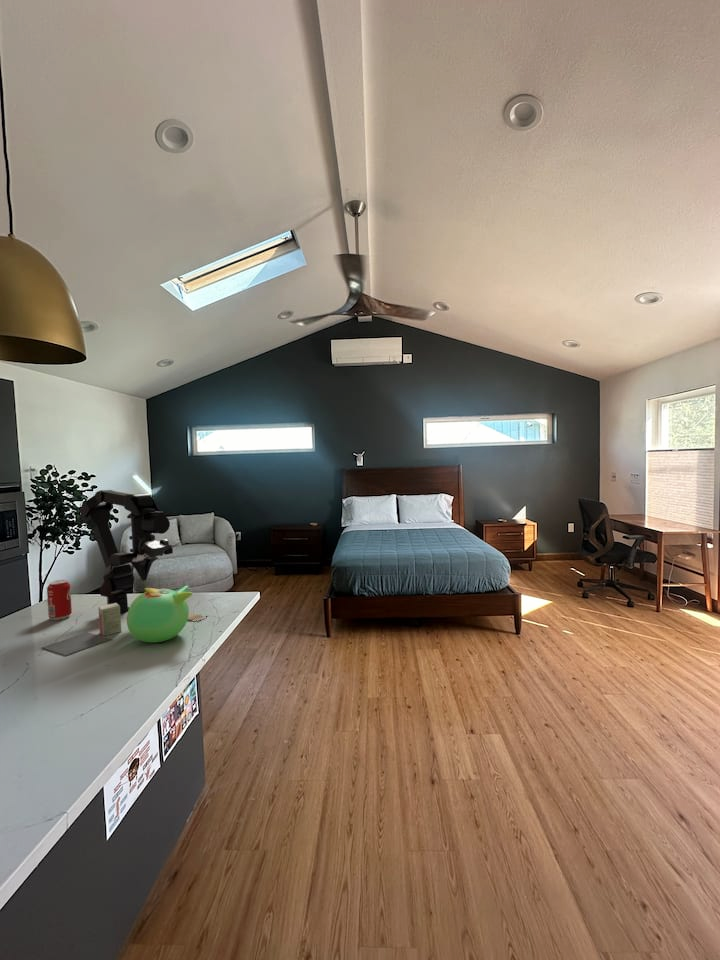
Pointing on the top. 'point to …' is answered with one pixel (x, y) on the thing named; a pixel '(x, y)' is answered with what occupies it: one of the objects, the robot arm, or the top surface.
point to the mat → (76, 643)
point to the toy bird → (158, 614)
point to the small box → (109, 619)
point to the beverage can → (59, 599)
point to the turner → (195, 617)
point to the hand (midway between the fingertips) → (144, 580)
